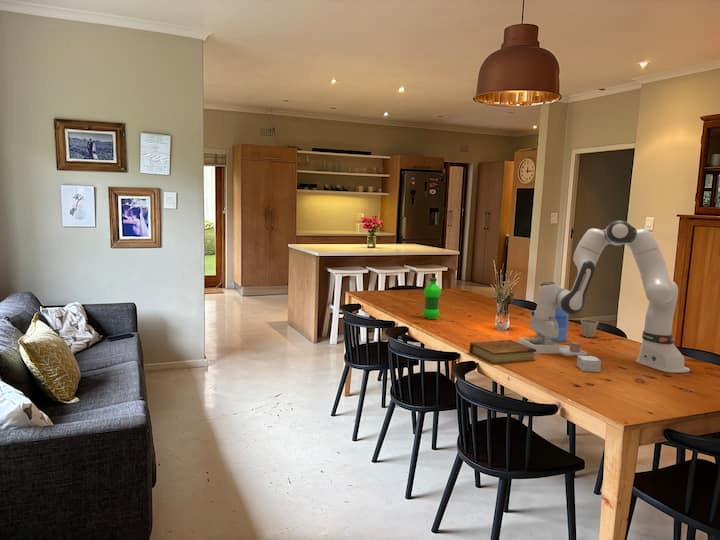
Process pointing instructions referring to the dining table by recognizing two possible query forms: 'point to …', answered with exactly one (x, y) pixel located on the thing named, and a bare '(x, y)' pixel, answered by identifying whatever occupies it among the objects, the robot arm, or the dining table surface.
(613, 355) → the dining table surface
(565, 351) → the tray
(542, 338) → the pebble slate
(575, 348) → the pebble brown
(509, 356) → the diary
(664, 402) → the dining table surface
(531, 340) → the pebble charcoal
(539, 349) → the flat white box
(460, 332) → the dining table surface
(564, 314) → the water jug
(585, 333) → the flower pot
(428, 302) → the plastic bottle
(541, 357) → the dining table surface
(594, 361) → the small box
